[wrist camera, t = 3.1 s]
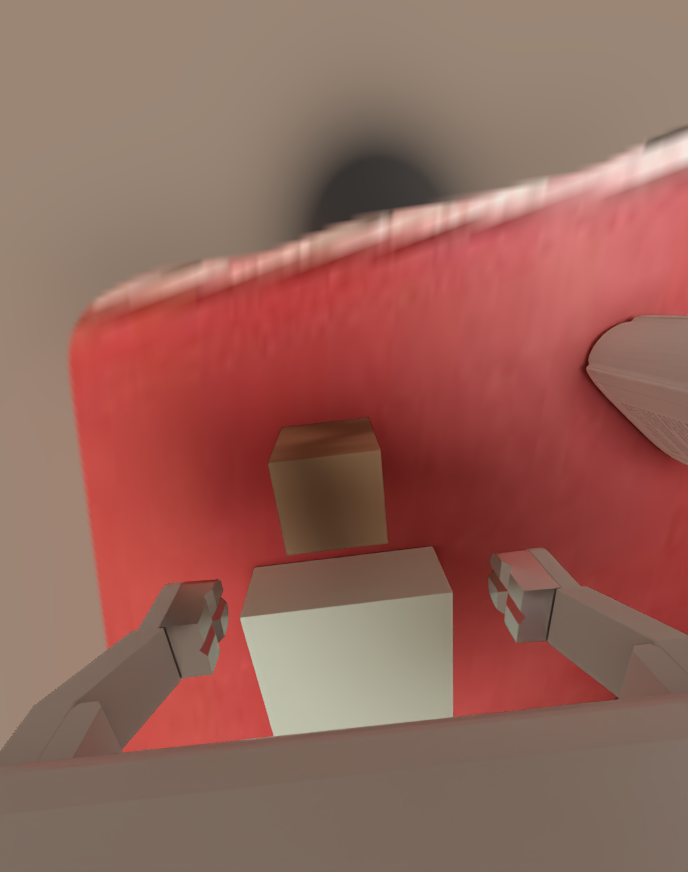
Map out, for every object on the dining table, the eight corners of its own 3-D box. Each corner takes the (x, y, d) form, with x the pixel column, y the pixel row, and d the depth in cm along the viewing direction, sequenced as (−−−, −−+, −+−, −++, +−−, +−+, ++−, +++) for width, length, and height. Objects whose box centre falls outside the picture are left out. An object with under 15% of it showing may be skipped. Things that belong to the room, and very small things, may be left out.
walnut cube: (368, 416, 20) (380, 449, 15) (374, 492, 22) (388, 543, 17) (281, 426, 20) (267, 463, 15) (295, 501, 22) (286, 555, 17)
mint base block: (432, 546, 23) (452, 592, 19) (435, 671, 27) (453, 728, 23) (254, 567, 23) (239, 617, 19) (284, 689, 27) (277, 749, 23)
